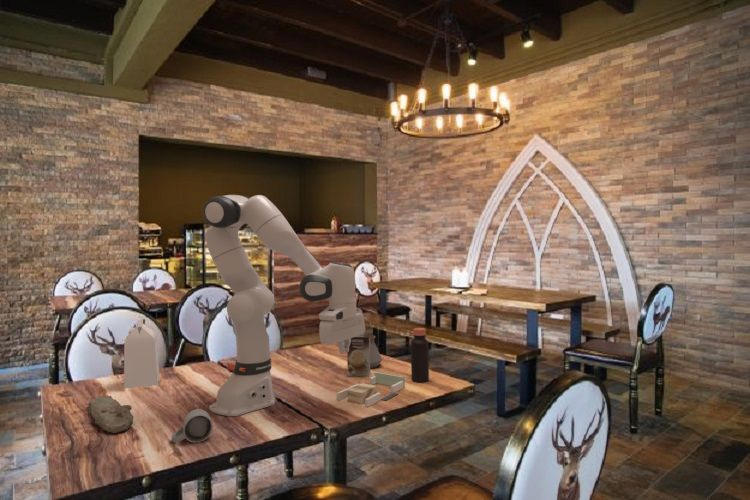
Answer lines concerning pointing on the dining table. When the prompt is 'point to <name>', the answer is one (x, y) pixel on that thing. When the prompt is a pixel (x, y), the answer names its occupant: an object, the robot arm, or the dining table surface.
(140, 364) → the milk
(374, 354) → the coffee pot
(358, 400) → the maple block
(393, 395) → the pads
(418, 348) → the bottle
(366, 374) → the coffee box
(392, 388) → the box
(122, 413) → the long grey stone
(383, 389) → the dining table surface
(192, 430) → the ceramic mug
